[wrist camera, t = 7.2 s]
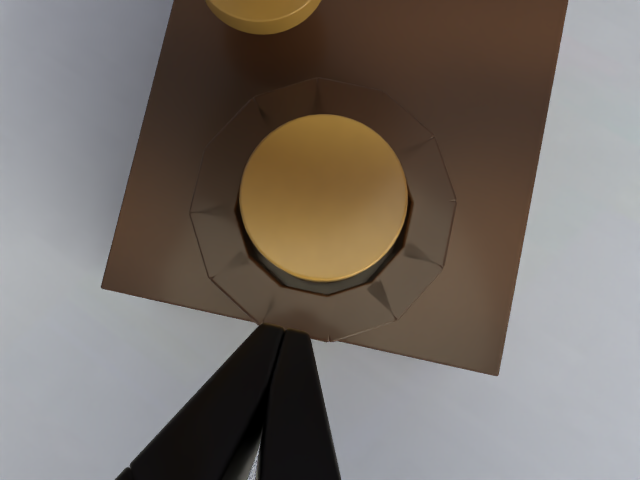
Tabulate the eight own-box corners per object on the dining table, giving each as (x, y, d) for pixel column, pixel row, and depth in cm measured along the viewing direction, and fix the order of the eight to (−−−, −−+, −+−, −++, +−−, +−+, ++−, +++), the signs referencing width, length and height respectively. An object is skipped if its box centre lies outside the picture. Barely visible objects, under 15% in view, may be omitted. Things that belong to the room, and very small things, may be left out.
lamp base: (458, 357, 22) (522, 387, 15) (150, 289, 22) (70, 287, 15) (520, 35, 23) (608, -80, 16) (227, -26, 23) (187, -165, 16)
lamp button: (380, 297, 15) (389, 297, 13) (234, 265, 15) (221, 260, 13) (410, 153, 16) (423, 132, 14) (267, 123, 16) (259, 97, 14)
